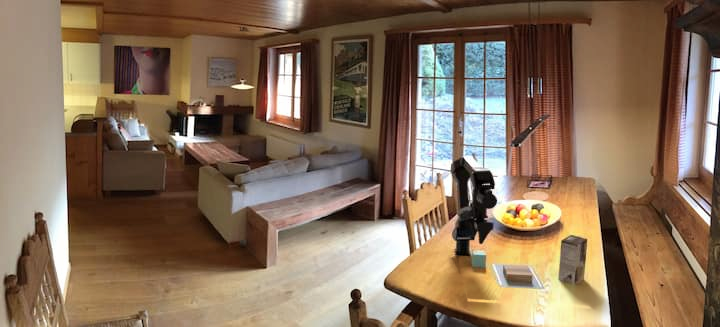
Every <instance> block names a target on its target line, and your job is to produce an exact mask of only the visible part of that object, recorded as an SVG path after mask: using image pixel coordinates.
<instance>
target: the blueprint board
mask: <svg viewBox="0 0 720 327" xmlns="http://www.w3.org/2000/svg"><path fill="white" fill-rule="evenodd" d="M490 265H491V270H492V272H493V274H494V277H495V280H496V282H497V286H498V287H500V288H502V287H504V288H517V289H520V288H521V289H539V290H546V287H545V286H544V284H543V283H542V281H541V278H540V277H539V276H538V274H537V273H536V271H535V269H534V268H533V265H529V264H527V265H526V264H516V265H517V266H528V268H529V270H530V271H531V273H532V275H533V278H532V283H520V282H507V281H506V279H505V276H504V274H503V265H511V264H507V263H490Z"/></svg>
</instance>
